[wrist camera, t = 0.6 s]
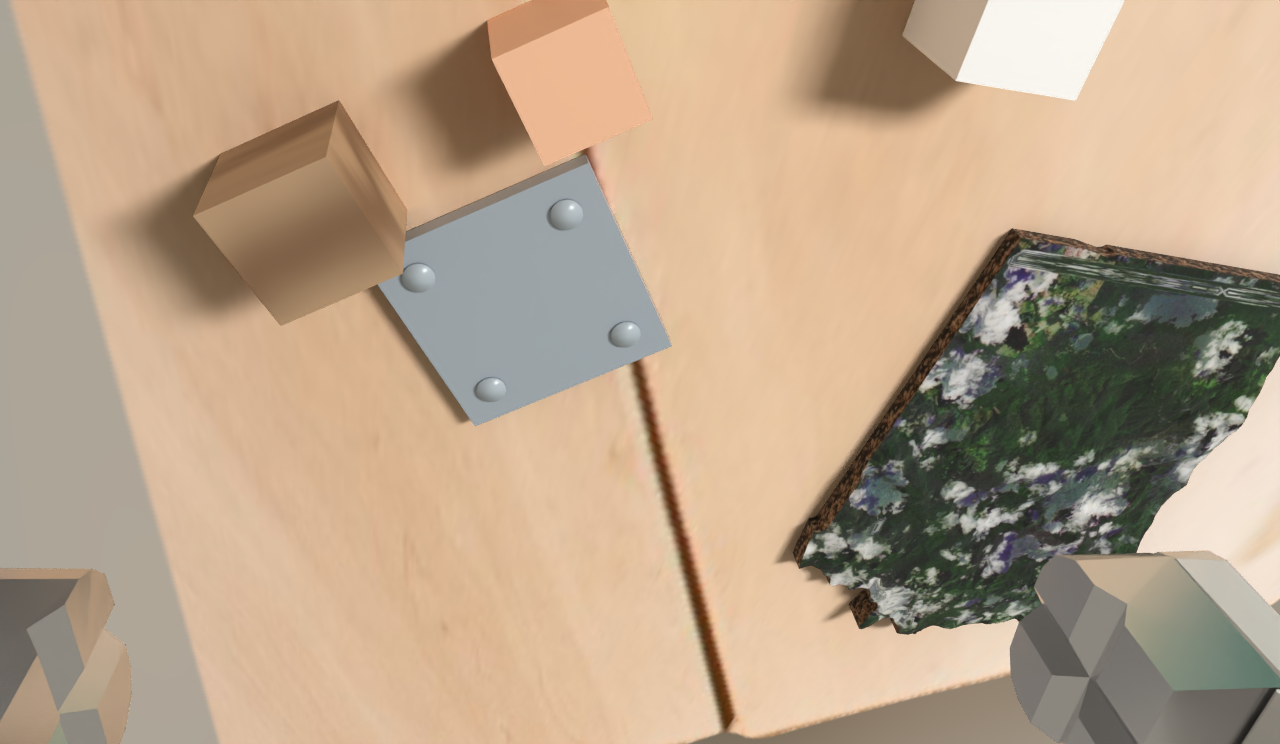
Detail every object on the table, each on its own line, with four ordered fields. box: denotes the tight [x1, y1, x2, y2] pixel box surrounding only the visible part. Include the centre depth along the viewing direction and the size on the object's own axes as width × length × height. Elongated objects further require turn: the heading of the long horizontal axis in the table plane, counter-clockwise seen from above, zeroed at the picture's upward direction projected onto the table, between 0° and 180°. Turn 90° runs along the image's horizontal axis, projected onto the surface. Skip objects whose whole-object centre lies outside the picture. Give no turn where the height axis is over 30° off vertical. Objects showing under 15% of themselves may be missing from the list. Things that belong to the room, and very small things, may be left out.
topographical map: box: [793, 229, 1280, 635], centre depth 63 cm, size 26×33×3 cm
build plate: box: [377, 154, 672, 426], centre depth 49 cm, size 12×12×1 cm
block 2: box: [487, 0, 653, 166], centre depth 40 cm, size 5×5×5 cm
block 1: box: [193, 101, 407, 326], centre depth 42 cm, size 6×6×6 cm
